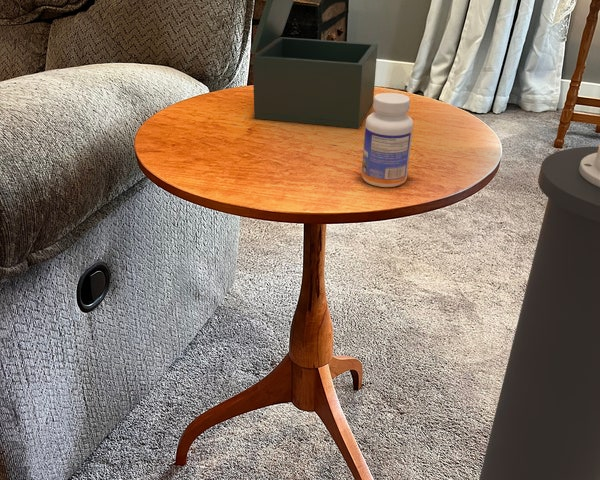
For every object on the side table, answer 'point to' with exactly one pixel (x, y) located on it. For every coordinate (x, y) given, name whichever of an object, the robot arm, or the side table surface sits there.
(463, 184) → the side table surface
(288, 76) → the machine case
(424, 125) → the side table surface
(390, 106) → the pill bottle
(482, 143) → the side table surface
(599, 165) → the robot arm
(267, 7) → the case lid
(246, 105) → the side table surface
